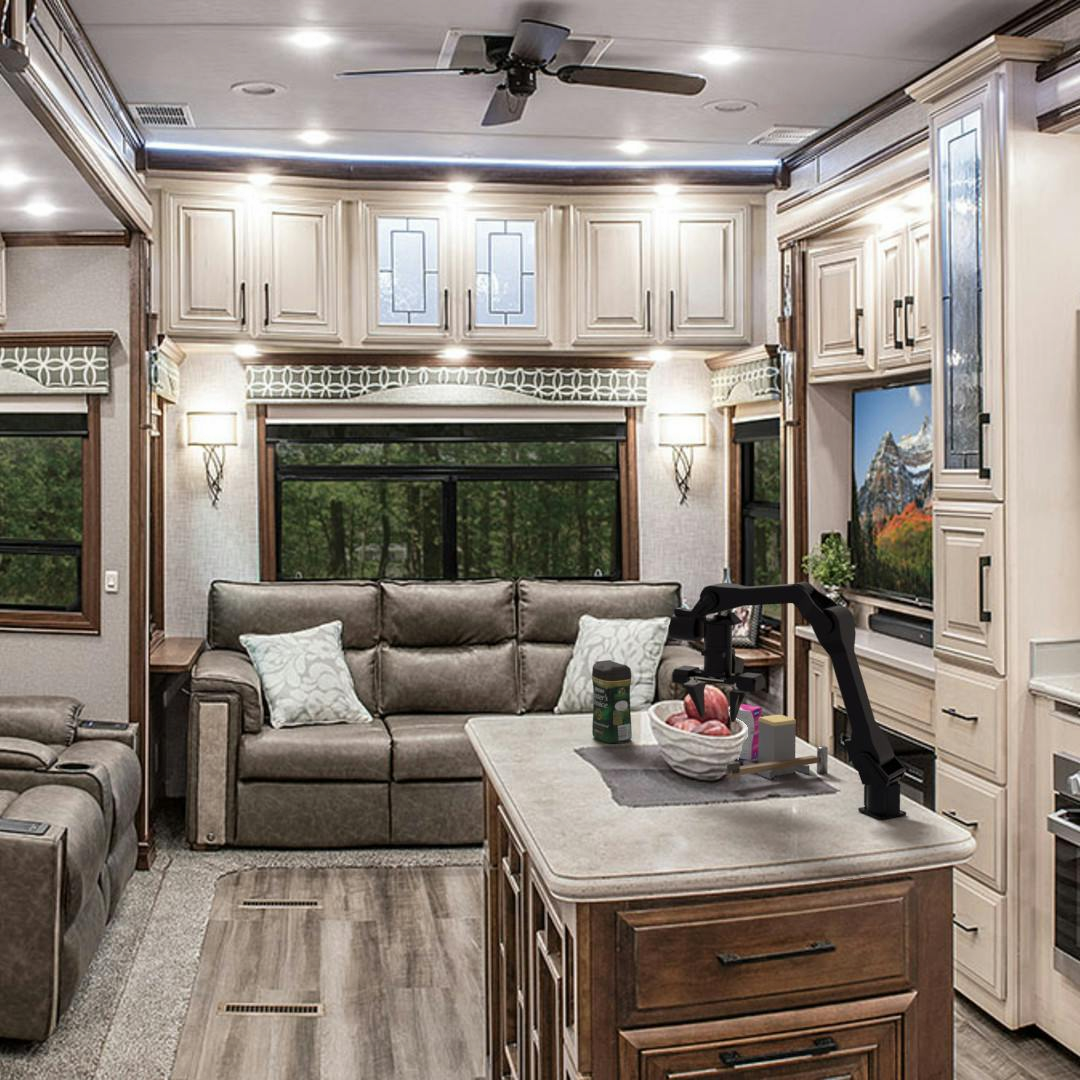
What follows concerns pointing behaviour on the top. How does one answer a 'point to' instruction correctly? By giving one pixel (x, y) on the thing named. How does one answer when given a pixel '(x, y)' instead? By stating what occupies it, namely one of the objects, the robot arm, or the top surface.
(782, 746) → the plug block
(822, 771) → the hinge post
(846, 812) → the top surface
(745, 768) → the bar
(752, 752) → the supplement box
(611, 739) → the coffee jar
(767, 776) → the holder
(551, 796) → the top surface
